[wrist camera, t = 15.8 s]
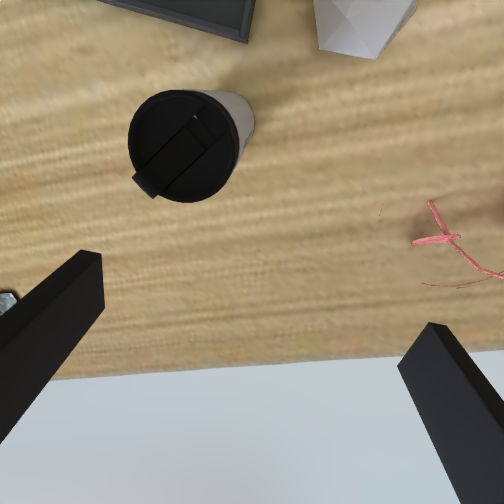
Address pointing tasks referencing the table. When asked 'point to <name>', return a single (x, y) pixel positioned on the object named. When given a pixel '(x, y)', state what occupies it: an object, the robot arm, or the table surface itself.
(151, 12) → the black tray
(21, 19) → the table surface
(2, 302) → the eiffel tower figurine
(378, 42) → the die
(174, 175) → the travel mug
